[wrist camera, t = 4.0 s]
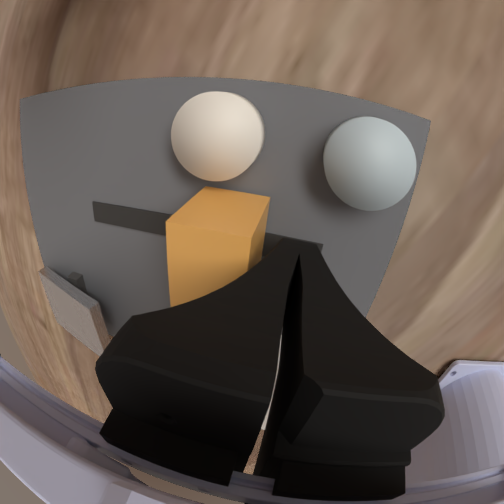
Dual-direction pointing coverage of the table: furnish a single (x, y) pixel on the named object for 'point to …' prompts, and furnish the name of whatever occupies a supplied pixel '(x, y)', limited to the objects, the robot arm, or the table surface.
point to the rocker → (75, 311)
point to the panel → (212, 177)
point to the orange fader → (213, 241)
